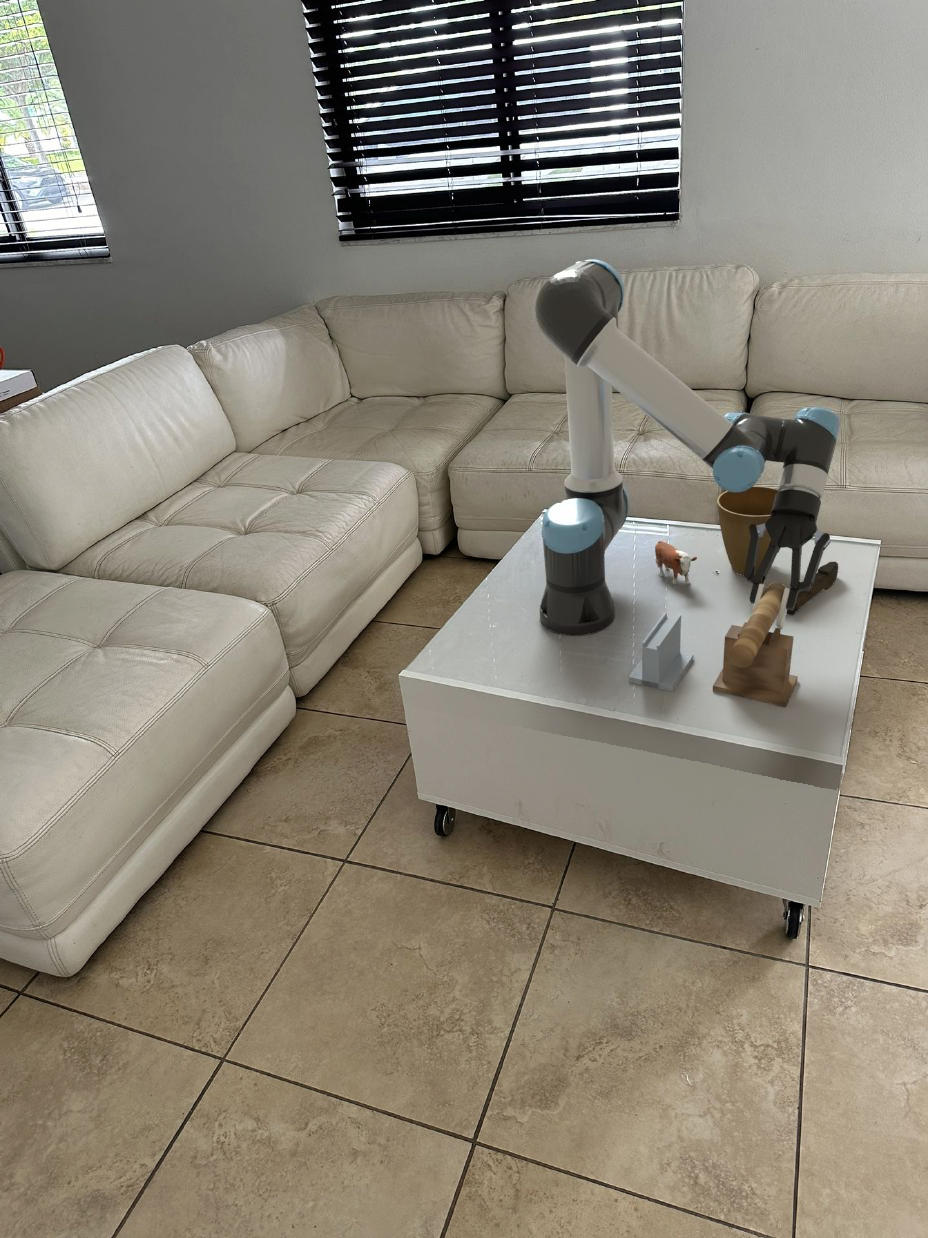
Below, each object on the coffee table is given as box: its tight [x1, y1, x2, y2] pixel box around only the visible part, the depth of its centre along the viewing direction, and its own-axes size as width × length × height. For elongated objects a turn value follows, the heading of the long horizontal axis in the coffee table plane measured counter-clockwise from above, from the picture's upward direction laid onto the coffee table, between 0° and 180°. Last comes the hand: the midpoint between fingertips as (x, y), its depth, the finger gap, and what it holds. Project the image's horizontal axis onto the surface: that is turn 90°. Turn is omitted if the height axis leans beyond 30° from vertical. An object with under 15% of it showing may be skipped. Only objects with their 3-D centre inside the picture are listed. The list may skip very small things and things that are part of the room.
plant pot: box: [716, 485, 778, 576], centre depth 169 cm, size 15×15×16 cm
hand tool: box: [786, 561, 839, 616], centre depth 160 cm, size 19×4×5 cm, turn 128°
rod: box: [729, 582, 787, 668], centre depth 132 cm, size 22×4×4 cm, turn 148°
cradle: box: [628, 611, 695, 693], centre depth 143 cm, size 8×11×9 cm
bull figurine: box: [654, 540, 698, 586], centre depth 171 cm, size 4×13×8 cm, turn 16°
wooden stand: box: [712, 621, 798, 708], centre depth 136 cm, size 12×8×11 cm, turn 58°
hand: (766, 624), depth 137 cm, fingers closed on rod, 3 cm apart
